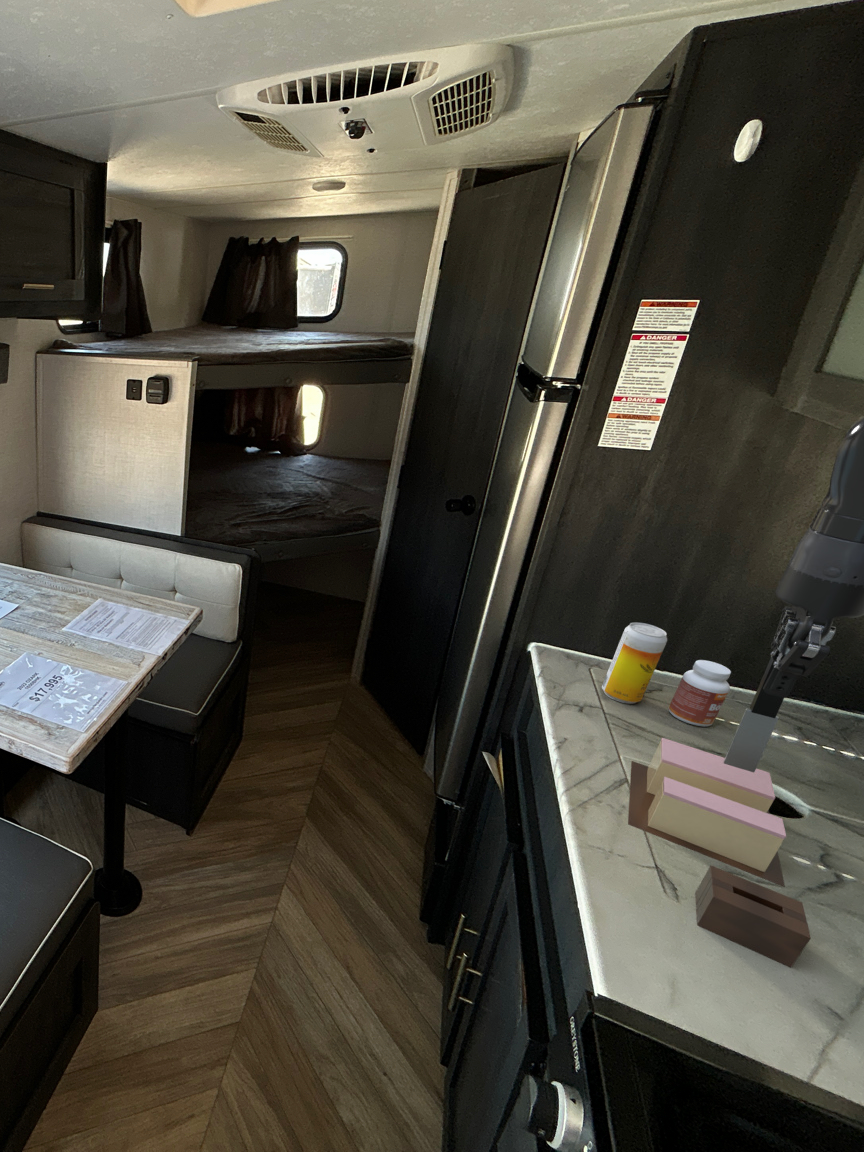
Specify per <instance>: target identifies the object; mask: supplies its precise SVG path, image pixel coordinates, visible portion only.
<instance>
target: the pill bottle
mask: <svg viewBox="0 0 864 1152" xmlns="http://www.w3.org/2000/svg"><path fill="white" fill-rule="evenodd" d="M731 674H732V671H731V670H730V669H729V667H727V666H724V665H722V664H721V663H718V662H715V661H710V660H705V659H697V660H696V661H695V662H694V664H693V665H692V669H690V670H687V671H686V672H684V673H683V674H682V677H681V679H680V681H679V683H678V685H677V687H676V690H675V692H674V694H673V697H672V698H671V701H670V703H669V706H668V712H669V713H670V714H671V716H673V717H674V718H675V719H677V720H678V721H681V722H683V723H686V724H689V725H692V726H697V727H710V726H712V725H713V724H714V722H715V720H716V718H717V716H718V715H719V712H720V710H721V708H722V706H723V704H724V702H725V700H726V698H727V696H728V694H729V693H730V690H731V686H730V683H729V682H728V680H729V678H730V676H731Z"/></svg>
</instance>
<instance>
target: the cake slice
mask: <svg viewBox="0 0 864 1152" xmlns="http://www.w3.org/2000/svg"><path fill="white" fill-rule="evenodd" d="M648 826H649V827H652V828H654V829H657V830H659V831H662V832H664V833H667V834H669V835H672V836H674V837H677V838H679V839H682V840H684V841H687V842H689V843H692V844H694V845H697V846H699V847H702V848H704V849H707V850H709V851H712V852H715V853H717V854H720V855H722V856H725V857H727V858H730V859H732V860H735V861H737V862H740V863H742V864H745V865H747V866H750V867H752V868H755V869H757V870H760V871H762V872H765V871H766V869H767V868H768V866H769V864H770V863H771V861H772V859H773V858H774V856H775V854H776V853H777V851H779V850H780V849H781V846H782V844H783V843H784V841H785V839H786V838H787V832H786V828H785V824H784V819H783V818H782V817H779V816H776V815H774V814H771V813H769V814H768V813H765V812H762V811H760V810H757V809H754V808H751V807H748V806H746V805H743V804H740V803H737V802H734V801H732V800H729V799H726V798H723V797H720V796H718V795H715V794H712V793H709V792H706V791H704V790H701V789H698V788H695V787H692V786H690V785H687V784H684V783H681V782H678V781H676V780H673V779H670V778H667V777H664V778H663V781H662V783H661V785H660V787H659V789H658V791H657V793H656V795H655V797H654V800H653V802H652V804H651V806H650V808H649V810H648Z"/></svg>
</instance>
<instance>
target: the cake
mask: <svg viewBox="0 0 864 1152" xmlns="http://www.w3.org/2000/svg"><path fill="white" fill-rule="evenodd" d="M724 759H725V757H723V756H720V755H716V754H713V753H711V752H707V751H705V750H702V749H699V748H696V747H692V746H689V745H687V744H683V743H680V742H677V741H675V740H672V739H668V738H665V737H661V739H660V741H659V743H658V745H657V748H656V750H655V752H654V753H653V756H652V759H651V761H650V763H649V765H648V769H647V792H648V793H651V794H653V795H656V793H657V791H658V789H659V787H660V785H661V783H662V781H663V778H664V777H667V778H670V779H673V780H676V781H678V782H681V783H684V784H687V785H690V786H692V787H695V788H698V789H701V790H704V791H706V792H709V793H712V794H715V795H718V796H720V797H723V798H726V799H729V800H732V801H734V802H737V803H740V804H743V805H746V806H748V807H751V808H754V809H757V810H760V811H762V812H765V813H767V812H768V810H769V811H770V808H771V806H772V805H773V803H774V801H775V799H776V794H775V789H774V785H773V782H772V781H773V780H772V776H771V773H770V772H769V771H765V770H762V769H759V768H756V770H755V772H754V773H753V772H750V771H747V770H744V769H740V768H737V767H734V766H730V765H727V764H724V763H723V762H724Z"/></svg>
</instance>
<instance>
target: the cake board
mask: <svg viewBox="0 0 864 1152" xmlns="http://www.w3.org/2000/svg"><path fill="white" fill-rule="evenodd" d="M630 762H631V763H630V778H629V781H630V782H629V796H628V798H629V799H628V814H627V815H628V816H627V825H629V826H631V827H633V828H635V829H639V830H641V831H643V832H646V833H648V834H651V835H653V836H656V837H658V838H661V839H662V840H663V839H664V840H666V841H668V842H671V843H673V844H676V845H678V846H681V847H682V848H683V847H684V848H686V849H689V850H691V851H694V852H696V853H699V854H700V855H703V856H706V857H709V858H711V859H713V860H716V861H718V862H721V863H723V864H726V865H728V866H731V867H733V868H735V869H738V870H741V871H743V872H746V873H748V874H751V875H752V876H753V875H754V876H755V877H758V878H760V879H762V880H764V881H768V882H771V883H773V884H776V885H777V886H778V885H779V886H781V887H783V888H786V884H785V879H784V876H783V871H782V866H781V861H780V855H779V852H778V851H779V850H778V851H777V853H776V854H775V856H774V858H773V859H772V861H771V863H770V864H769V866H768V868H767V869H766V871H765V872H762V871H760V870H757V869H755V868H752V867H750V866H747V865H745V864H742V863H740V862H737V861H735V860H732V859H730V858H727V857H725V856H722V855H720V854H717V853H715V852H712V851H709V850H707V849H704V848H702V847H699V846H697V845H694V844H692V843H689V842H687V841H684V840H682V839H679V838H677V837H674V836H672V835H669V834H667V833H664V832H662V831H659V830H657V829H654V828H652V827H649V826H648V810H649V808H650V806H651V804H652V802H653V800H654V797H655V795H653V794H651V793H648V792H647V769H648V767H649V765H645V764H642V763H640V762H637V761H634V760H631V761H630ZM767 813H768V814H770V809H769V810H768V812H767Z"/></svg>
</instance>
